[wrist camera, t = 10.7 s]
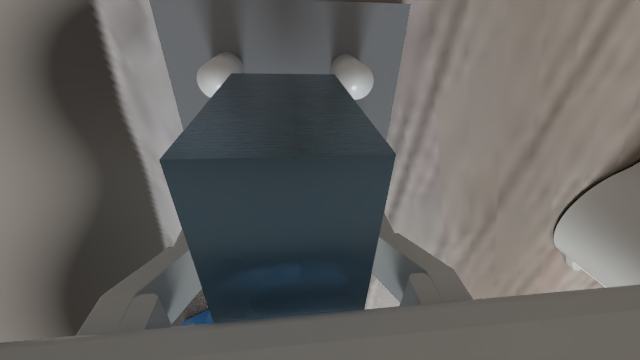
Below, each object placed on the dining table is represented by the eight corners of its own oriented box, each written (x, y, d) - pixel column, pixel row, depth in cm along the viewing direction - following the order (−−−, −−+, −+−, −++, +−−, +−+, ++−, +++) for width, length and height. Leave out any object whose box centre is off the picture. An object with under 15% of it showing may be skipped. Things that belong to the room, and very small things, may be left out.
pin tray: (402, 4, 18) (440, 3, 14) (372, 184, 27) (390, 221, 22) (158, -6, 17) (109, -10, 12) (206, 189, 25) (187, 230, 20)
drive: (335, 74, 11) (398, 154, 5) (325, 250, 16) (349, 388, 10) (229, 73, 10) (156, 159, 4) (255, 254, 16) (238, 402, 10)
